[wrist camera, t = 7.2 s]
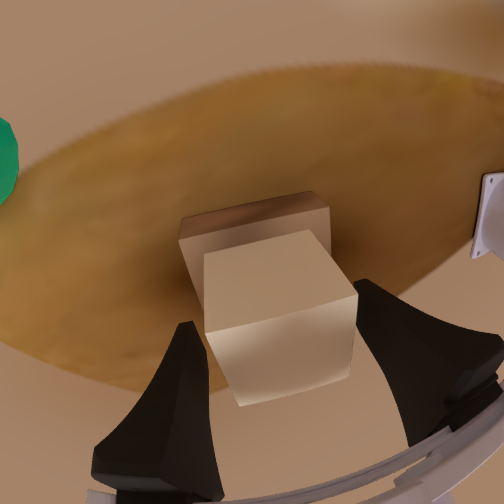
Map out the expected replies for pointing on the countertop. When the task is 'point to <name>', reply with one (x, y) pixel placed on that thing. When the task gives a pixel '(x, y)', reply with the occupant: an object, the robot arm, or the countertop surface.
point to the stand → (250, 228)
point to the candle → (7, 160)
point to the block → (278, 316)
